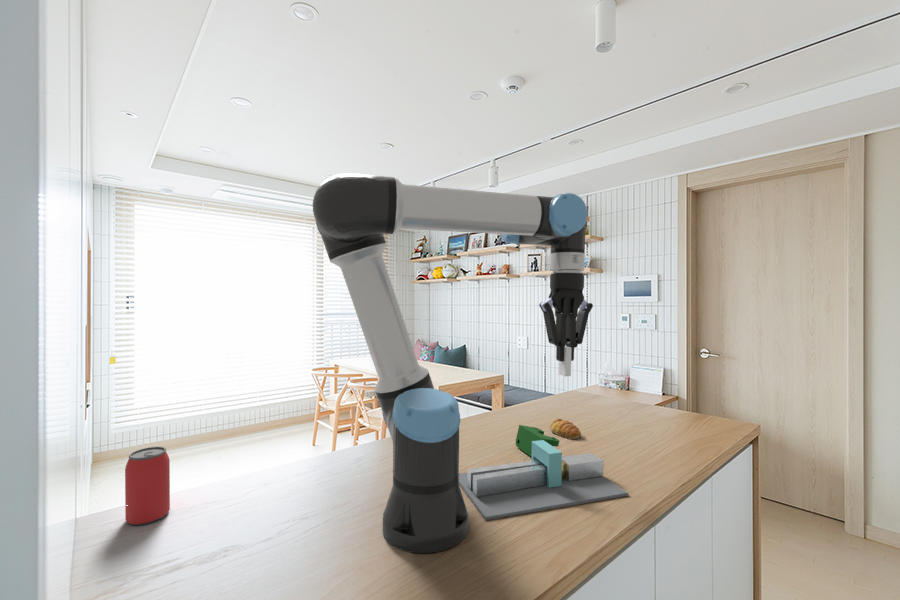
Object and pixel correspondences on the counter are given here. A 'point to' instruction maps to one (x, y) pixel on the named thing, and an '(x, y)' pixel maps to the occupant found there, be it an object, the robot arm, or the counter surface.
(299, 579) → the counter surface
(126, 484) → the beer can
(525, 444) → the clamp
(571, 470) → the tongs body
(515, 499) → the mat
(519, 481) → the arm
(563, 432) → the pastry
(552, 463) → the collar
